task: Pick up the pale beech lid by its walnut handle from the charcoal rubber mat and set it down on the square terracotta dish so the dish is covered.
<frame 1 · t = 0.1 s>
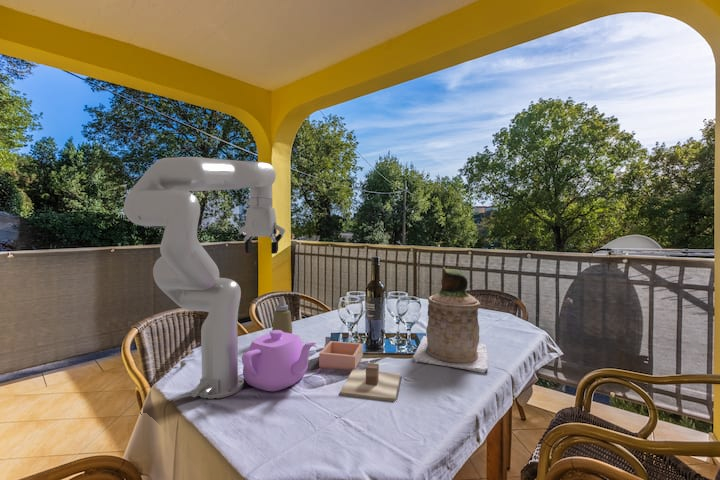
hand: (261, 253, 118), 37 cm above the table, tool pointing down, fingers open, 9 cm apart
dish: (341, 362, 114), on the table
teapot: (278, 381, 101), on the table
lid: (372, 385, 98), resting on mat
cookie jar: (451, 356, 121), on the table
mat: (372, 386, 98), on the table
squeeze bottle: (282, 341, 135), on the table
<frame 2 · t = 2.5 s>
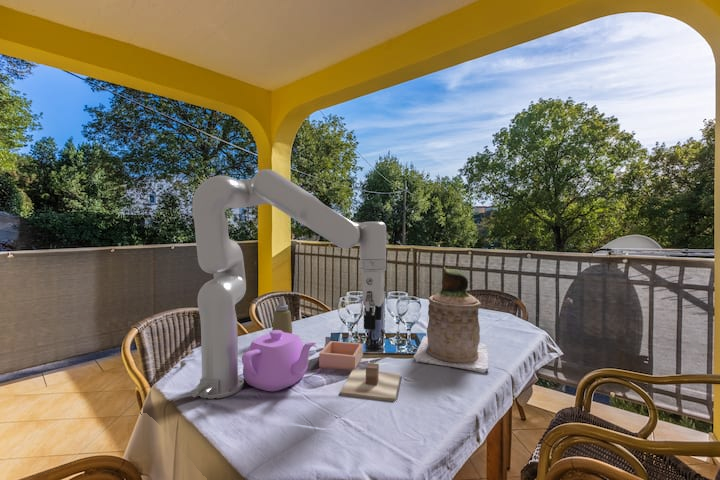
hand: (372, 323, 97), 18 cm above the table, tool pointing down, fingers open, 9 cm apart
nothing on the table moved.
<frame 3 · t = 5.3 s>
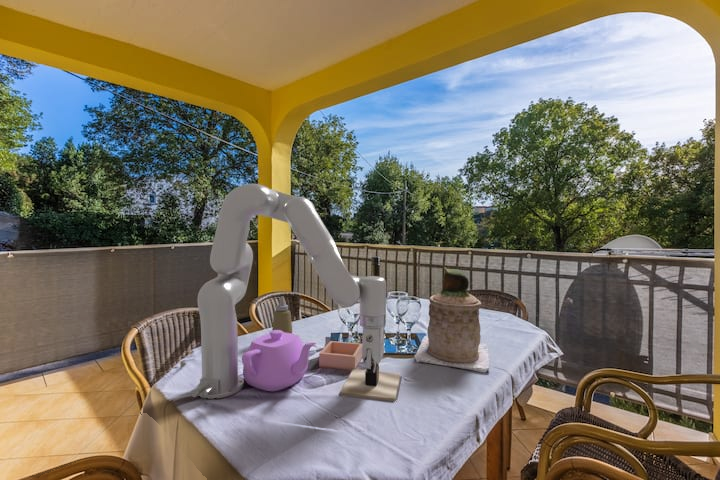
hand: (372, 381, 98), 1 cm above the table, tool pointing down, fingers closed on lid, 3 cm apart
lid: (372, 385, 98), resting on mat, touching gripper
everything else where it was.
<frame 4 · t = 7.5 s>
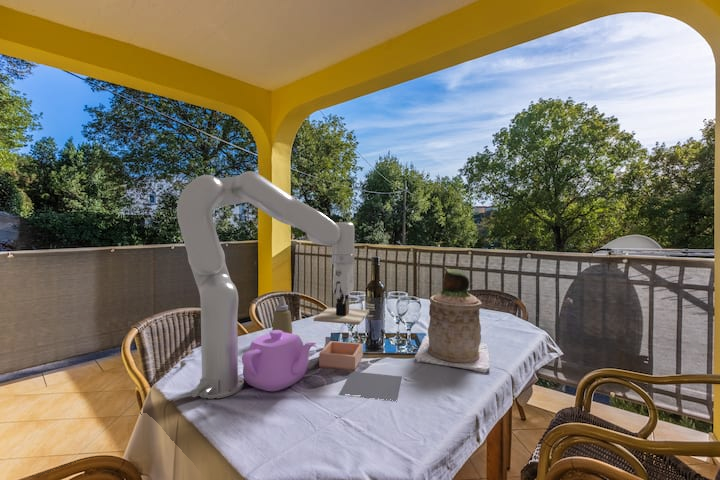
hand: (342, 313, 113), 17 cm above the table, tool pointing down, fingers closed on lid, 3 cm apart
lid: (342, 316, 113), point 16 cm above the table, touching gripper
everything else where it was.
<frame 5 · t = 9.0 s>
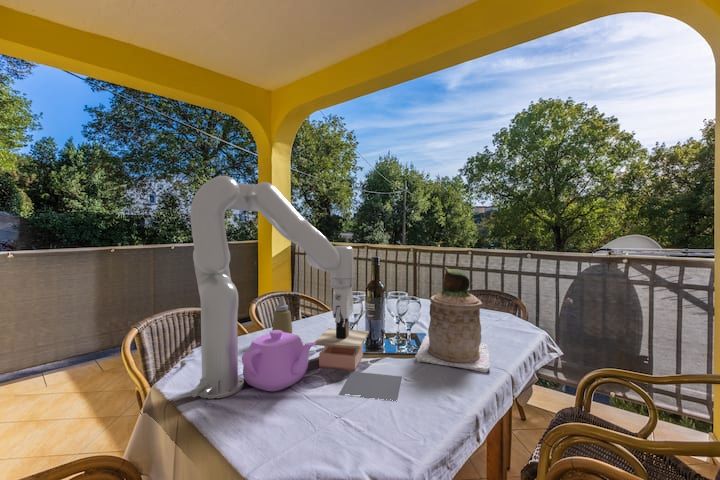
hand: (342, 335, 114), 9 cm above the table, tool pointing down, fingers closed on lid, 3 cm apart
lid: (342, 338, 114), point 8 cm above the table, touching gripper
everything else where it was.
when the fingers open (7 cm above the table, at t = 10.1 s): lid drops 1 cm, resting on dish.
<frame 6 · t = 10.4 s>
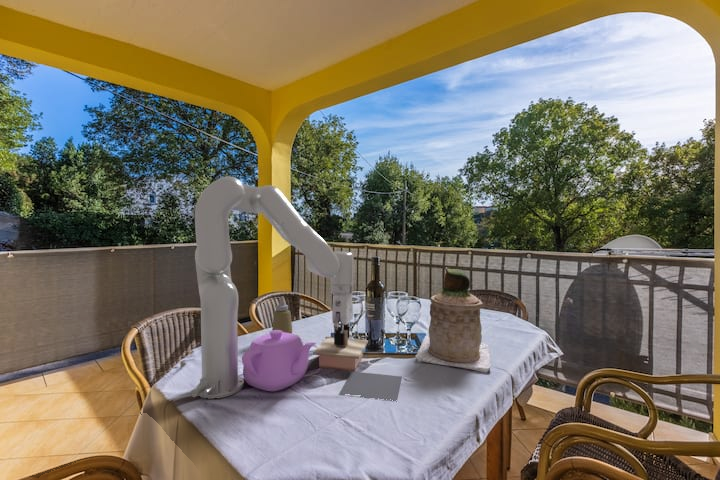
hand: (342, 340, 114), 8 cm above the table, tool pointing down, fingers open, 6 cm apart
lid: (341, 348, 114), point 5 cm above the table, touching dish
everything else where it was.
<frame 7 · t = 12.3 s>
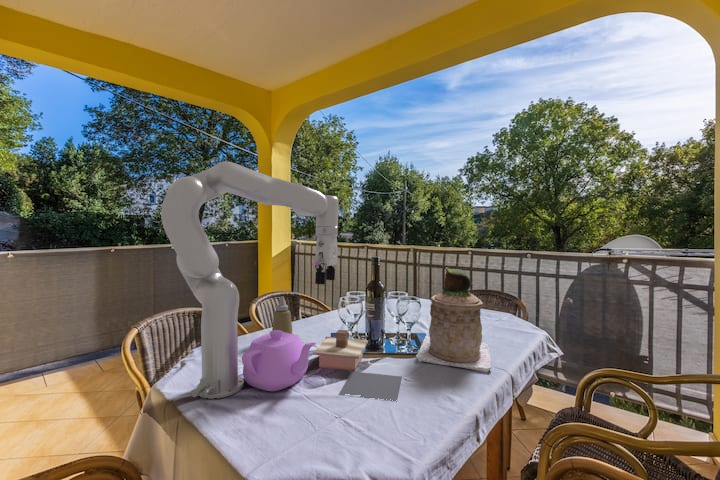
hand: (325, 281, 115), 27 cm above the table, tool pointing down, fingers open, 9 cm apart
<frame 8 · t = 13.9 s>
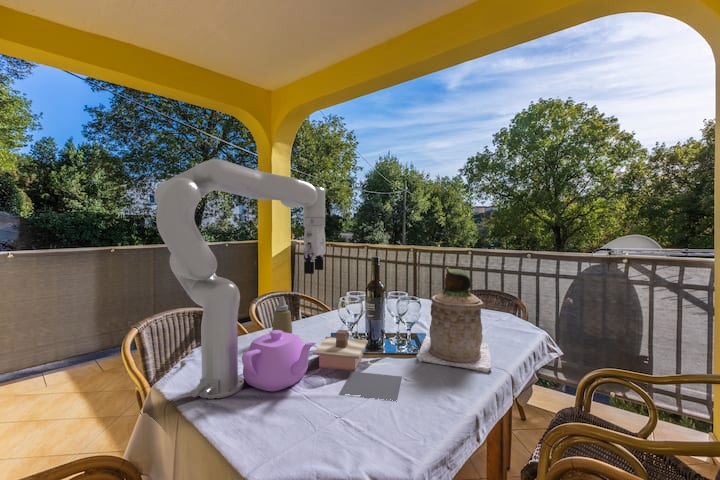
hand: (314, 271, 118), 30 cm above the table, tool pointing down, fingers open, 9 cm apart
at the end: lid 0.0 cm off-centre on the dish, point 5.0 cm above the dish's base; lid tilted 0°; the gripper is holding nothing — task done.
